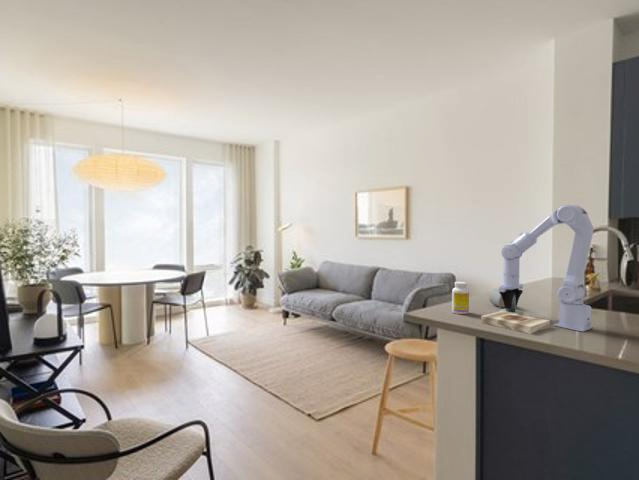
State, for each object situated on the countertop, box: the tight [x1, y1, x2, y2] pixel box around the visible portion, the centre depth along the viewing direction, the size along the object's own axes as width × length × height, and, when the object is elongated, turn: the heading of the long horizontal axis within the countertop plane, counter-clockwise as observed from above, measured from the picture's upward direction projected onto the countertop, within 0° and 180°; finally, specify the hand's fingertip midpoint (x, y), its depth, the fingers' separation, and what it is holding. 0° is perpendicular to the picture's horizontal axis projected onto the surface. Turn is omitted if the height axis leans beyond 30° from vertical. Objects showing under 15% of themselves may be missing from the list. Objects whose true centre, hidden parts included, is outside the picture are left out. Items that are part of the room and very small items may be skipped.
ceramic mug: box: [488, 288, 506, 309], centre depth 168 cm, size 11×8×8 cm
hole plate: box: [480, 311, 550, 335], centre depth 138 cm, size 18×14×3 cm
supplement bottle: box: [451, 281, 470, 315], centre depth 157 cm, size 7×7×13 cm
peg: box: [505, 294, 517, 312], centre depth 151 cm, size 4×4×7 cm
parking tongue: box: [497, 308, 525, 316], centre depth 151 cm, size 7×7×2 cm
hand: (510, 307), depth 151 cm, fingers closed on peg, 4 cm apart
